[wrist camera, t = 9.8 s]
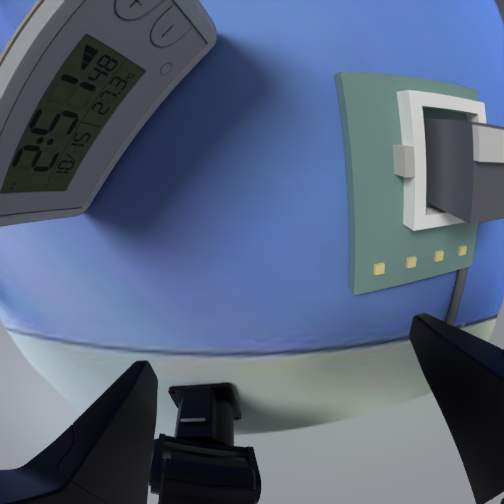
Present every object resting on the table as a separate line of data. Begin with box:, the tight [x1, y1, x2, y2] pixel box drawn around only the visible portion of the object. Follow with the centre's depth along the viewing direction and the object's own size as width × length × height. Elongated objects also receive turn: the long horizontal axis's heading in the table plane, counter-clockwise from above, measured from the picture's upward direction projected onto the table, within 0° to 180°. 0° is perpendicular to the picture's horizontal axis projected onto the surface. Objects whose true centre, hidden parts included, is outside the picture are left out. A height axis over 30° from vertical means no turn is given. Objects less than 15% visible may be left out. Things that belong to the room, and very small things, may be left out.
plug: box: [424, 119, 504, 224], centre depth 14 cm, size 6×4×6 cm
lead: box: [446, 267, 468, 326], centre depth 22 cm, size 12×1×1 cm, turn 8°
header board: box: [334, 72, 486, 295], centre depth 17 cm, size 16×13×3 cm
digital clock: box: [0, 0, 217, 227], centre depth 10 cm, size 16×9×11 cm, turn 126°
